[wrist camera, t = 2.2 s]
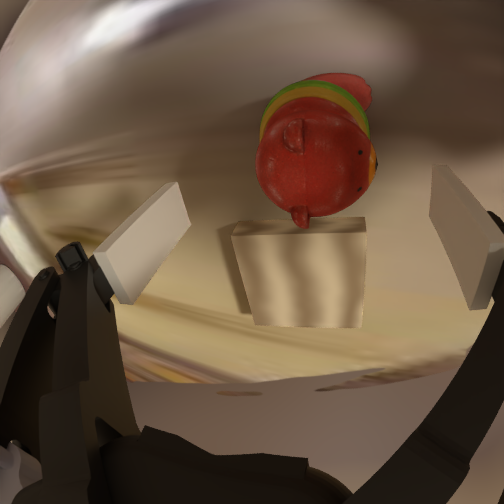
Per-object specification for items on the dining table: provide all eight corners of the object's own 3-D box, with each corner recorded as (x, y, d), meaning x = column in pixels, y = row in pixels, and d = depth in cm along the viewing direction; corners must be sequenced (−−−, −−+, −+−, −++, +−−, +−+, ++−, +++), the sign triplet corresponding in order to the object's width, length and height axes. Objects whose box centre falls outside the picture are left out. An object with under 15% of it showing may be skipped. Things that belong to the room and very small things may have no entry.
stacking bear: (363, 171, 31) (383, 274, 17) (274, 161, 33) (224, 253, 19) (372, 77, 25) (419, 94, 11) (274, 68, 27) (210, 77, 13)
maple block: (364, 215, 35) (366, 232, 32) (361, 308, 43) (361, 328, 40) (239, 219, 40) (230, 236, 37) (260, 306, 48) (255, 325, 45)
